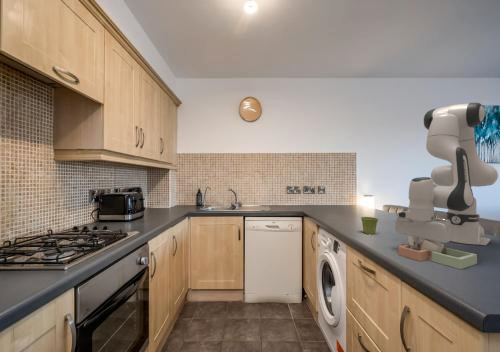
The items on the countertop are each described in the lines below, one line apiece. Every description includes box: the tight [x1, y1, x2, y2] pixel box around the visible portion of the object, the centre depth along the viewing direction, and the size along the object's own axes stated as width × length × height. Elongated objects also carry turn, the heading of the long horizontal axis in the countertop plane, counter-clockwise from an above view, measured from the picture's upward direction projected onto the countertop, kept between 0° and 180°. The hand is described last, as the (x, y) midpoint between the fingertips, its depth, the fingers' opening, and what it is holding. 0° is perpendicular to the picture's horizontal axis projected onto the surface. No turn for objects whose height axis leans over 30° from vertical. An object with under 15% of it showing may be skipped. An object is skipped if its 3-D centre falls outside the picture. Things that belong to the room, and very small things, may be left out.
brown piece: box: [400, 241, 447, 261], centre depth 101 cm, size 10×12×4 cm
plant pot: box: [360, 216, 379, 235], centre depth 139 cm, size 9×9×9 cm
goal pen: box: [430, 247, 478, 270], centre depth 92 cm, size 12×9×4 cm
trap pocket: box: [397, 244, 428, 262], centre depth 97 cm, size 5×8×4 cm, turn 27°
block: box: [420, 239, 445, 253], centre depth 98 cm, size 5×5×6 cm
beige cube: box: [407, 235, 423, 247], centre depth 115 cm, size 7×7×7 cm
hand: (420, 248), depth 102 cm, fingers closed
